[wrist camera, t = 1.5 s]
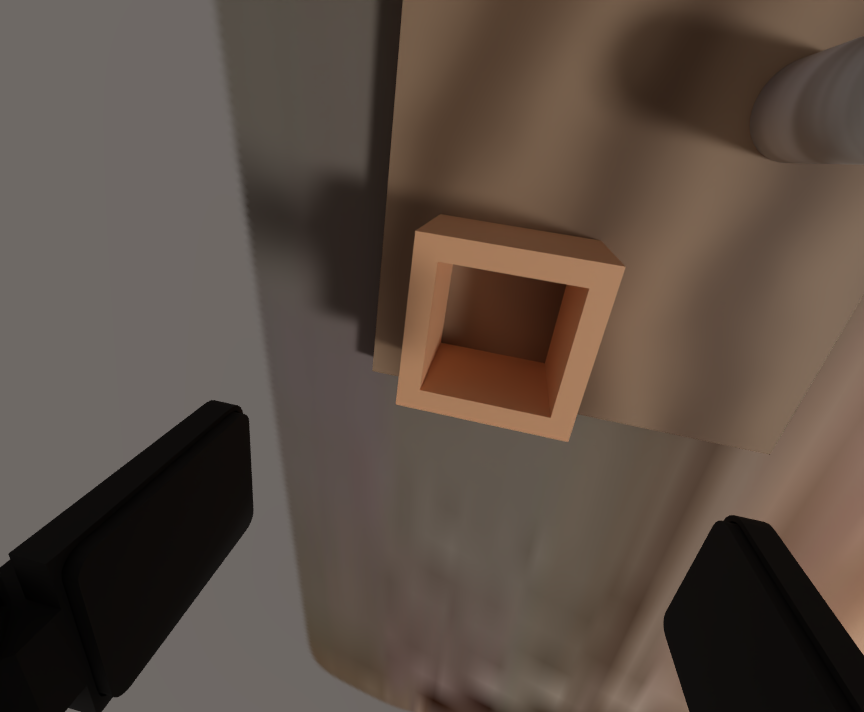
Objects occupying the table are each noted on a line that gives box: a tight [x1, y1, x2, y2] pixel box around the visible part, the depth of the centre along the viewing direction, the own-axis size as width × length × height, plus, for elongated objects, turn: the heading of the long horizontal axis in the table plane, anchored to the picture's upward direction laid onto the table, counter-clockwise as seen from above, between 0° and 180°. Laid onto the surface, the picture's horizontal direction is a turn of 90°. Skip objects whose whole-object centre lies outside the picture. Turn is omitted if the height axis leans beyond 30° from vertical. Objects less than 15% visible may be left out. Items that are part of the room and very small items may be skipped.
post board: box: [373, 0, 864, 455], centre depth 16 cm, size 20×20×8 cm
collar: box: [396, 214, 626, 442], centre depth 18 cm, size 7×7×5 cm
